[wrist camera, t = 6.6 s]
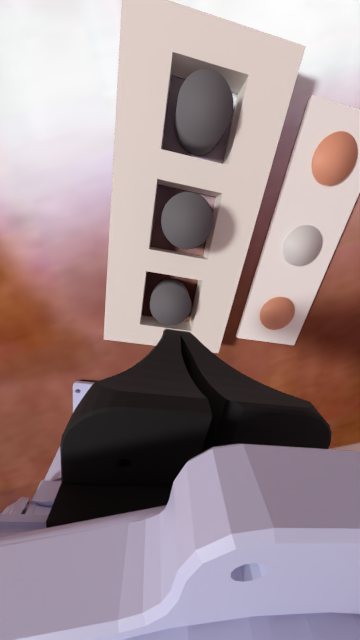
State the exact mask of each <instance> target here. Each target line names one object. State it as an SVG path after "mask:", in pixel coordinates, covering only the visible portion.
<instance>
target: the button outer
mask: <svg viewBox="0 0 360 640" xmlns="http://www.w3.org/2000/svg"><path fill="white" fill-rule="evenodd" d="M232 113H233V97H232V92H231V89H230V87H229V85H228V83H227V81H226V80H225V78H224V77H223V76H222V75H221V74H220V73H218V72H216V71H214V70H212V69H199V70H197V71H195V72H193V73H192V74H190V75H189V76H188V77H187V78H186V80H185V81H184V82H183V84H182V86H181V88H180V91H179V94H178V99H177V107H176V115H175V133H176V136H177V139H178V141H179V143H180V145H181V146H182V147H183V148H184V149H185V150H186V151H187V152H189V153H191V154H195V155H202V154H205V153H207V152H209V151H211V150H212V149H213V148H214V147H215V146H216V144H217V143H218V141H219V140H220V138H221V137H222V135H223V134H224V132H225V130H226V129H227V127H228V125H229V123H230V121H231V118H232Z"/></svg>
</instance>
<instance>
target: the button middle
mask: <svg viewBox="0 0 360 640" xmlns="http://www.w3.org/2000/svg"><path fill="white" fill-rule="evenodd" d="M161 225H162V230H163V232H164V235H165V236H166V238H167V239H168V241H169V242H170V243H172V244H173V245H174V246H176V247H179V248H182V249H192V248H195V247H198V246H199V245H201V244H202V243H203V242H205V240H206V239H207V238H208V237H209V235H210V233H211V230H212V227H213V214H212V210H211V208H210V205H209V204H208V202H207V201H206V200H205V199H204V198H203V197H202V196H200V195H198V194H196V193H193V192H182V193H179V194H176V195H175V196H173V197H172V198H171V199H170V200H169V201H168V202H167V203H166V205H165V207H164V209H163V212H162V216H161Z"/></svg>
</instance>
